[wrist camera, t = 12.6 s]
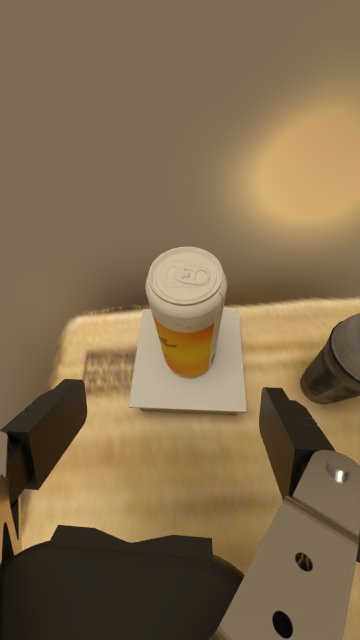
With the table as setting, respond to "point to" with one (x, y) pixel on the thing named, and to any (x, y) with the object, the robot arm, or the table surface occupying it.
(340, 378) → the beverage cup
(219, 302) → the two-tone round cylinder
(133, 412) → the table surface
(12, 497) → the robot arm
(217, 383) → the grey square box
